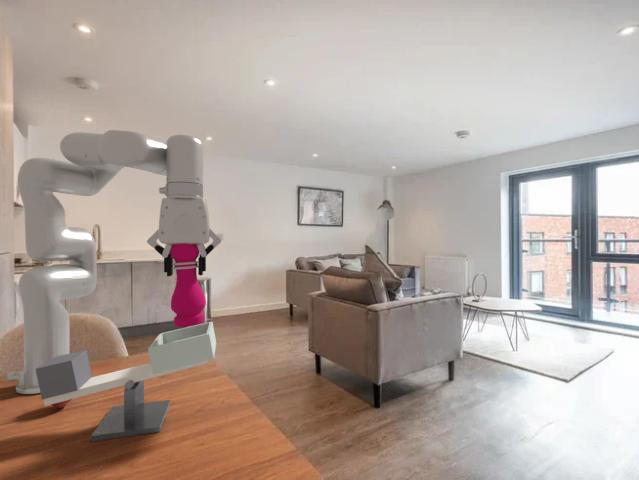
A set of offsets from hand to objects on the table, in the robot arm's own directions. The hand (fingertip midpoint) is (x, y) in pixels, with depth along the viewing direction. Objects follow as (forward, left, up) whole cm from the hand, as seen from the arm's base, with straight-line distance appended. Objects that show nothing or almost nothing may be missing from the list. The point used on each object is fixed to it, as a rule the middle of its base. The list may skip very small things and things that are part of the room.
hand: (185, 274), depth 74 cm
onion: (-28, +11, -31) cm, 43 cm away
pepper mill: (+1, 0, -11) cm, 11 cm away
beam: (-9, 0, -22) cm, 24 cm away
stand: (-10, 0, -31) cm, 32 cm away
